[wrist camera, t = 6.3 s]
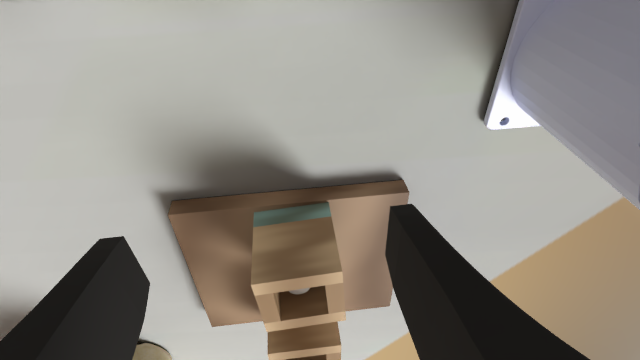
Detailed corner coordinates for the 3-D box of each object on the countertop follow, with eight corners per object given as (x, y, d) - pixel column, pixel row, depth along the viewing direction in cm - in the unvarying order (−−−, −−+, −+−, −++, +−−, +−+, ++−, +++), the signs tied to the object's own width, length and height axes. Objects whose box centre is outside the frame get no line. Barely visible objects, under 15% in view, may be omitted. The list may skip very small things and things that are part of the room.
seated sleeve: (329, 276, 26) (341, 345, 22) (330, 310, 28) (340, 377, 25) (267, 283, 25) (267, 354, 21) (274, 317, 28) (275, 385, 24)
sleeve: (328, 202, 21) (342, 271, 17) (332, 250, 24) (345, 320, 20) (253, 212, 21) (250, 285, 17) (266, 260, 24) (267, 332, 20)
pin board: (403, 179, 22) (433, 243, 18) (385, 293, 30) (404, 355, 26) (172, 200, 21) (150, 273, 17) (213, 312, 29) (205, 381, 25)
